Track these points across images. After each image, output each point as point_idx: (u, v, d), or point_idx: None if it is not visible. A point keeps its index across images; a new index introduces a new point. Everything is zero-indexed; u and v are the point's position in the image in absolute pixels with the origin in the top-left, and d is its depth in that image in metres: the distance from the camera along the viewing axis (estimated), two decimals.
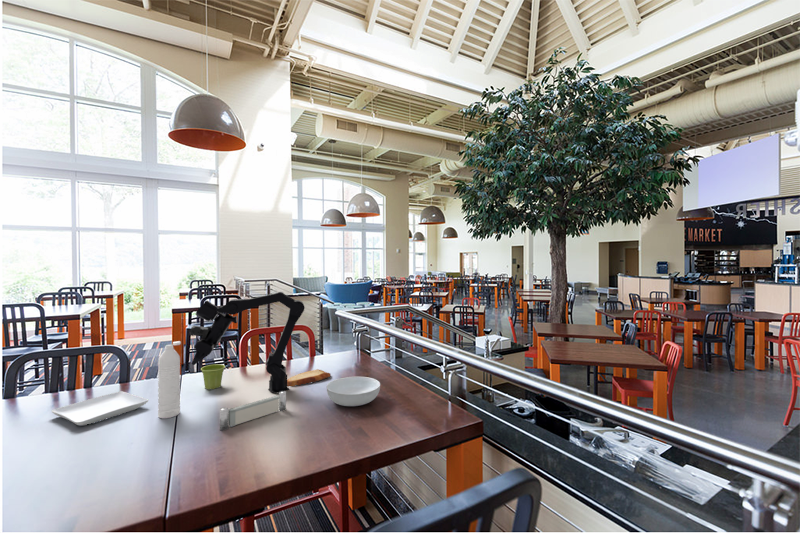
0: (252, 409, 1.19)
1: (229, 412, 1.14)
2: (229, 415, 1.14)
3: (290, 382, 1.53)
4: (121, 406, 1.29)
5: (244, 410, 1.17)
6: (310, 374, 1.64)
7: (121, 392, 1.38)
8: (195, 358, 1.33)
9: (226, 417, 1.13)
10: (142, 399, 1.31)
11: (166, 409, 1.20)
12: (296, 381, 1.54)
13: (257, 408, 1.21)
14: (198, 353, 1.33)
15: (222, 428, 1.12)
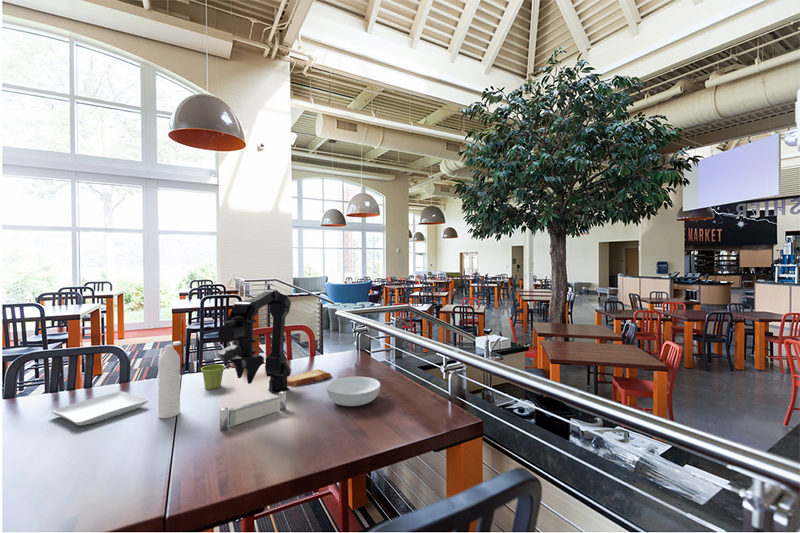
0: (252, 409, 1.19)
1: (229, 412, 1.14)
2: (229, 415, 1.14)
3: (290, 382, 1.53)
4: (121, 406, 1.29)
5: (244, 410, 1.17)
6: (310, 374, 1.64)
7: (121, 392, 1.38)
8: (249, 376, 1.20)
9: (226, 417, 1.13)
10: (142, 399, 1.31)
11: (166, 409, 1.20)
12: (296, 381, 1.54)
13: (257, 408, 1.21)
14: (249, 370, 1.20)
15: (222, 428, 1.12)
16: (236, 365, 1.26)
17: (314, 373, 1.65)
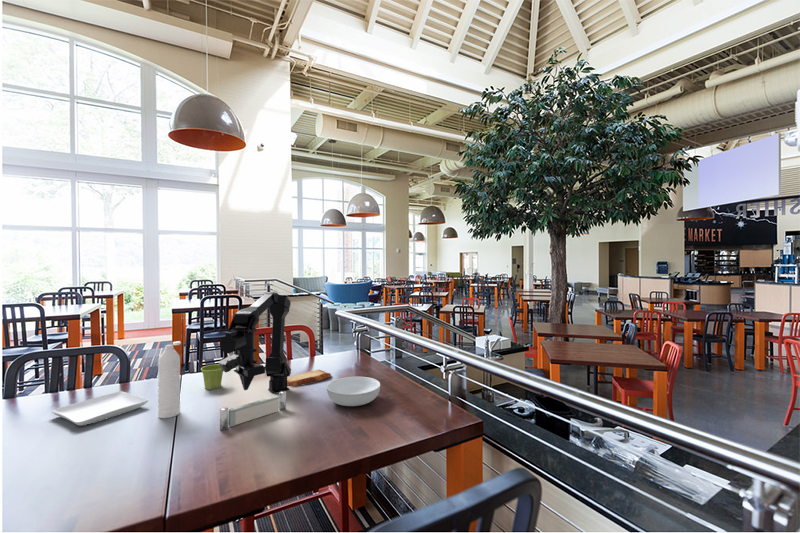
0: (252, 409, 1.19)
1: (229, 412, 1.14)
2: (229, 415, 1.14)
3: (290, 382, 1.53)
4: (121, 406, 1.29)
5: (244, 410, 1.17)
6: (310, 374, 1.64)
7: (121, 392, 1.38)
8: (245, 383, 1.23)
9: (226, 417, 1.13)
10: (142, 399, 1.31)
11: (166, 409, 1.20)
12: (296, 381, 1.54)
13: (257, 408, 1.21)
14: (246, 377, 1.23)
15: (222, 428, 1.12)
16: None
17: (314, 373, 1.65)
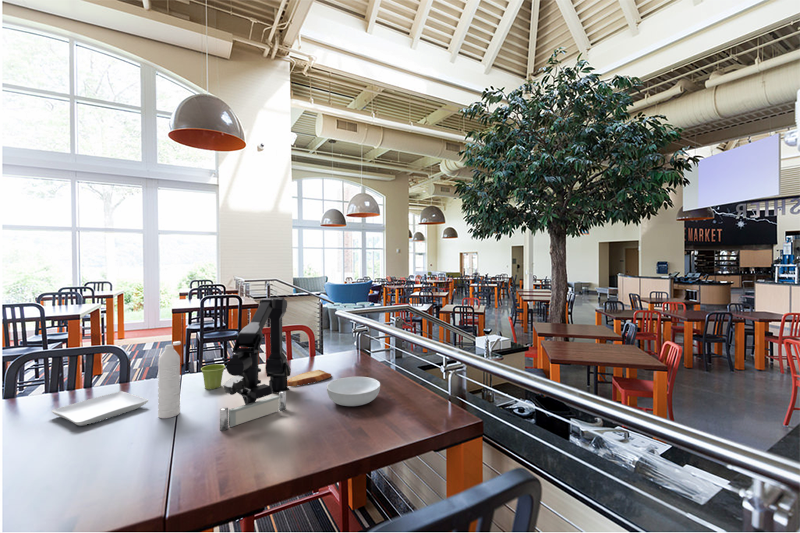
0: (252, 409, 1.19)
1: (229, 412, 1.14)
2: (229, 415, 1.14)
3: (290, 382, 1.53)
4: (121, 406, 1.29)
5: (244, 410, 1.17)
6: (311, 374, 1.63)
7: (121, 392, 1.38)
8: None
9: (226, 417, 1.13)
10: (142, 399, 1.31)
11: (166, 409, 1.20)
12: (296, 381, 1.54)
13: (257, 408, 1.20)
14: (250, 398, 1.21)
15: (222, 428, 1.12)
16: (246, 398, 1.21)
17: (315, 373, 1.65)
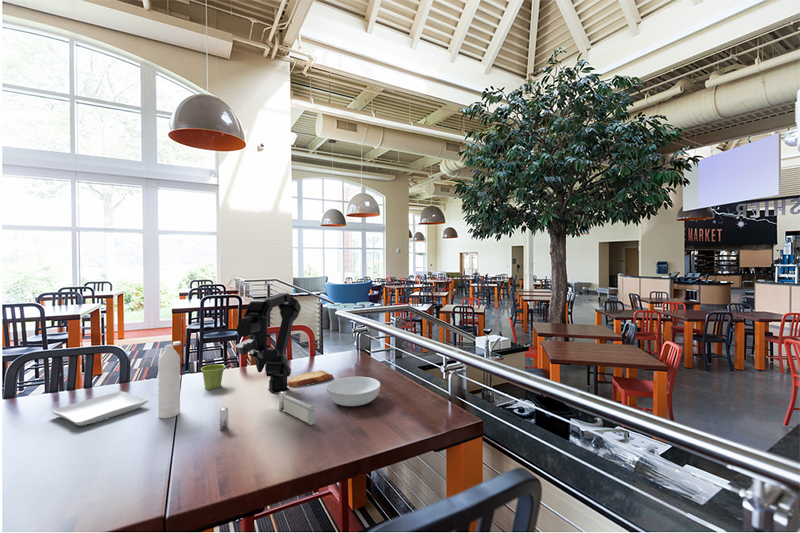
0: None
1: (313, 410, 1.16)
2: (313, 413, 1.16)
3: (291, 383, 1.52)
4: (121, 406, 1.29)
5: None
6: (312, 375, 1.63)
7: (121, 392, 1.38)
8: (260, 366, 1.33)
9: (226, 417, 1.13)
10: (142, 399, 1.31)
11: (166, 409, 1.20)
12: (297, 382, 1.53)
13: None
14: (260, 360, 1.32)
15: (222, 428, 1.12)
16: (256, 360, 1.33)
17: (316, 374, 1.64)
